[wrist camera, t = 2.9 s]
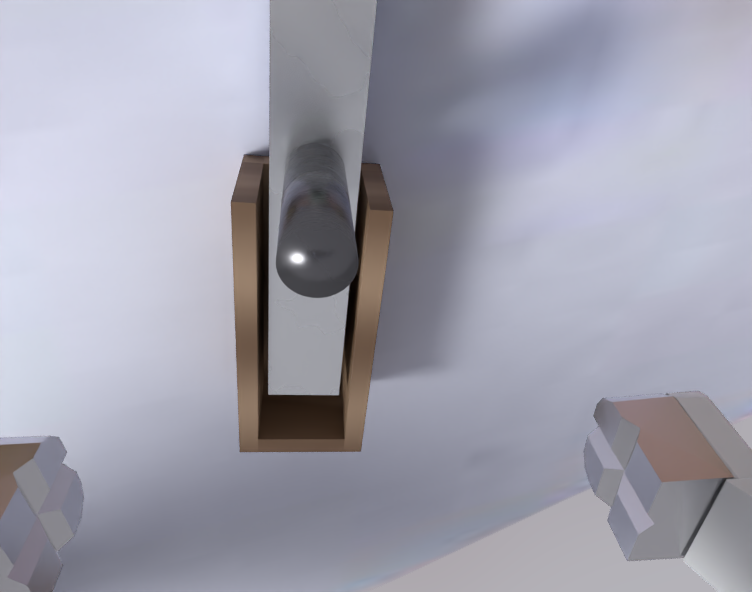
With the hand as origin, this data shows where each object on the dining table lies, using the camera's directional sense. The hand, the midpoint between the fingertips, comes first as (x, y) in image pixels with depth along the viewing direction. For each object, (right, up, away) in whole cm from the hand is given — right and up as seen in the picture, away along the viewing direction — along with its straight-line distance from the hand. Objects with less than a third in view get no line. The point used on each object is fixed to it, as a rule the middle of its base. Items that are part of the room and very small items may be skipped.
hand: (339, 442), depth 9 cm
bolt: (-2, +6, +13) cm, 15 cm away
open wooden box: (-3, +3, +17) cm, 17 cm away
